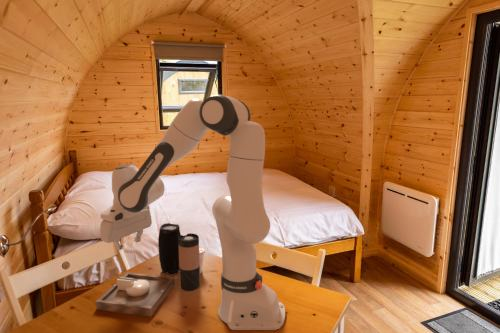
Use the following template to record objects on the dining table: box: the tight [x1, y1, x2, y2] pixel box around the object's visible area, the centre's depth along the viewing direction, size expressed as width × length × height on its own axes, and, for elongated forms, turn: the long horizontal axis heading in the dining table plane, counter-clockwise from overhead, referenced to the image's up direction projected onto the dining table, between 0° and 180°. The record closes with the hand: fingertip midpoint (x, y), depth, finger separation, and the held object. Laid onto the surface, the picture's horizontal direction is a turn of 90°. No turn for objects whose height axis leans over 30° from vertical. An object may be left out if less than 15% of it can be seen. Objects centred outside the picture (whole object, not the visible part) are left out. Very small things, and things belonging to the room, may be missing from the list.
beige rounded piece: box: [116, 276, 150, 297], centre depth 122 cm, size 12×8×4 cm
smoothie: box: [199, 246, 206, 274], centre depth 139 cm, size 6×6×14 cm
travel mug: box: [178, 232, 201, 292], centre depth 128 cm, size 8×8×20 cm
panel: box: [95, 272, 176, 317], centre depth 122 cm, size 20×20×3 cm
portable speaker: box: [157, 222, 182, 276], centre depth 139 cm, size 9×9×20 cm
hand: (128, 245), depth 124 cm, fingers open, 7 cm apart
